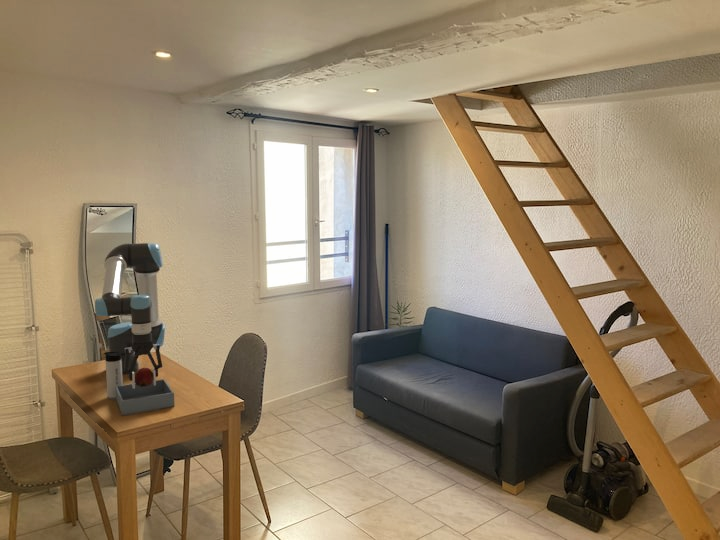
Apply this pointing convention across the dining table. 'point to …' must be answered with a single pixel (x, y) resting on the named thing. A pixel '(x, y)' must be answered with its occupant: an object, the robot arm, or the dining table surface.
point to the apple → (143, 377)
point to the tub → (144, 397)
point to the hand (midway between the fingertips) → (144, 386)
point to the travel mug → (113, 373)
